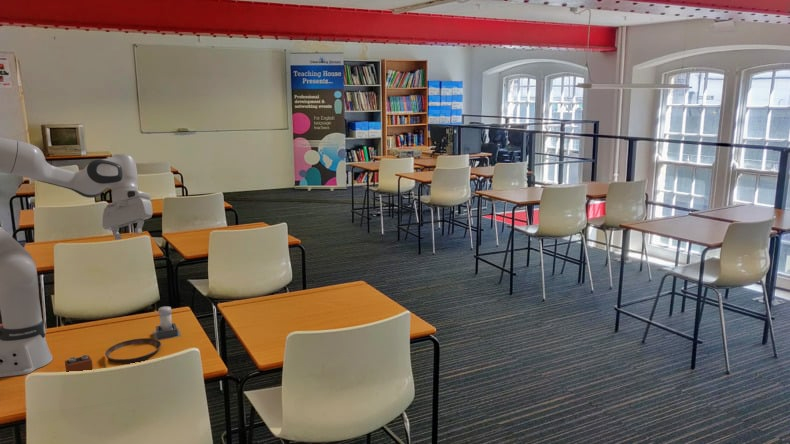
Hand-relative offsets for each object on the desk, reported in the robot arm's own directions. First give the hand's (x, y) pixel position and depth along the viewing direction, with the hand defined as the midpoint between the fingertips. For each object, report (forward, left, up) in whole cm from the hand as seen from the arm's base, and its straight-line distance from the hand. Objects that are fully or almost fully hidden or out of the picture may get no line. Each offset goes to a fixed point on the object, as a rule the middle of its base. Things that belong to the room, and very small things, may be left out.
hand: (128, 236), depth 209 cm
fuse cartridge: (+10, -1, -38) cm, 39 cm away
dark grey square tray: (+10, -1, -39) cm, 40 cm away
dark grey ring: (-2, -13, -40) cm, 42 cm away
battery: (-18, -31, -39) cm, 53 cm away
